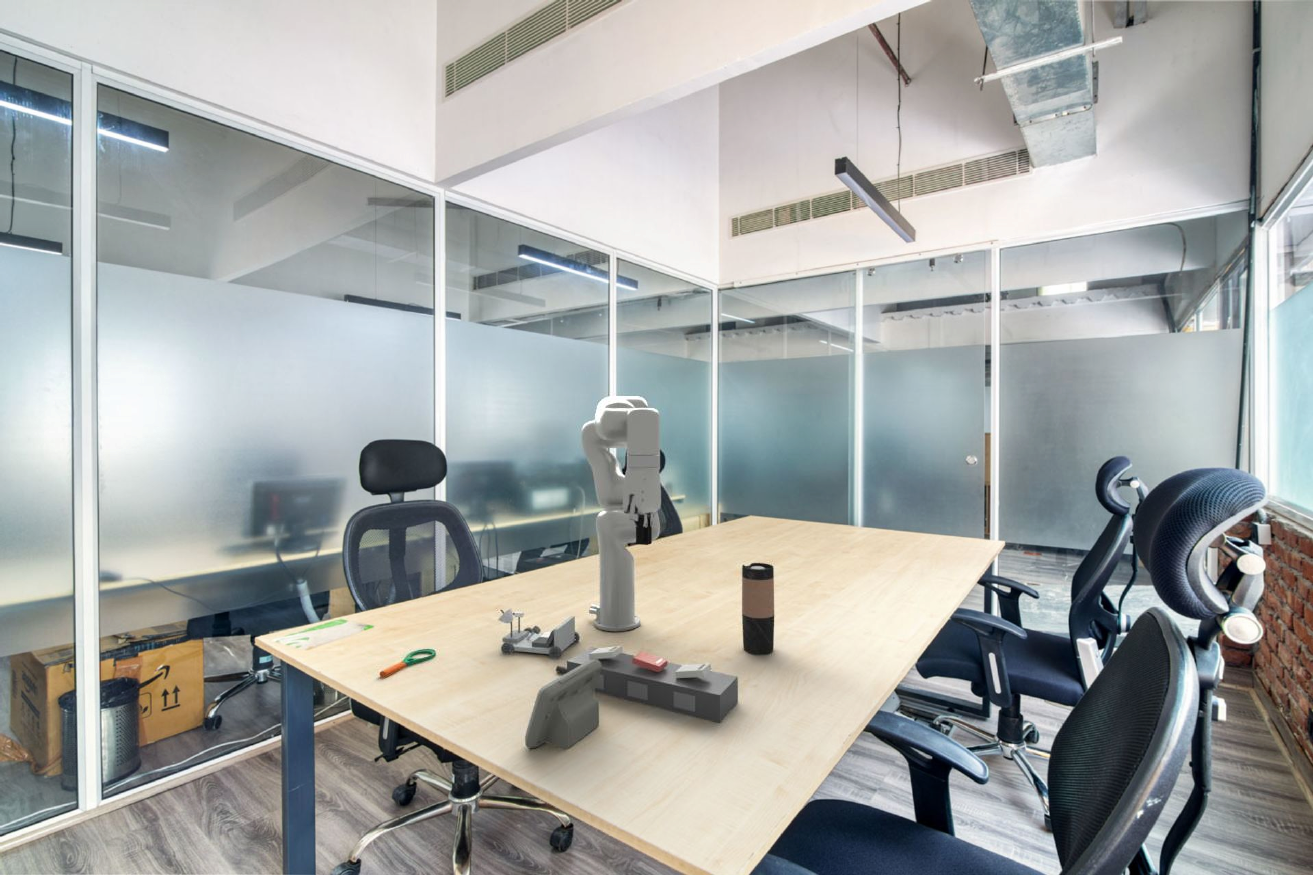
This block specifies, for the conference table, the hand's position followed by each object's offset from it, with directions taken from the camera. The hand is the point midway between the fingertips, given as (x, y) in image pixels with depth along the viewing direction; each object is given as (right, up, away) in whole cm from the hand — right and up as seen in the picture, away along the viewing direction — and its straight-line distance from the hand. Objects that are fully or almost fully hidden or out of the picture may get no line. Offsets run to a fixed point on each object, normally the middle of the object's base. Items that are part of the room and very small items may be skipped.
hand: (643, 543), depth 131 cm
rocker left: (-7, -22, -11) cm, 26 cm away
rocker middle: (+1, -22, -15) cm, 27 cm away
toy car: (-27, -28, +11) cm, 40 cm away
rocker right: (+10, -22, -20) cm, 31 cm away
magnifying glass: (-54, -28, +1) cm, 60 cm away
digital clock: (-13, -28, -30) cm, 43 cm away
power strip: (-1, -27, -14) cm, 31 cm away
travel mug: (+27, -27, +8) cm, 39 cm away
